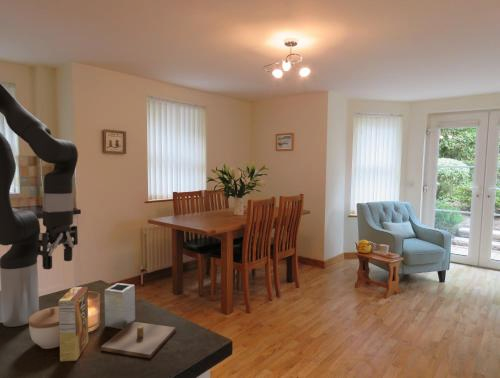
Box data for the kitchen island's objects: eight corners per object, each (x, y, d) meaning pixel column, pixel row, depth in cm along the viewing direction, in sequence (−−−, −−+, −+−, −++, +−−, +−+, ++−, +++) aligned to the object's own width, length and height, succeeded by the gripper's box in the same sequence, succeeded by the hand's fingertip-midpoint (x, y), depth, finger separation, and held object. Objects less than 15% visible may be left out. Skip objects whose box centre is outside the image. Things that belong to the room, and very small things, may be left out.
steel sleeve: (105, 326, 98) (104, 290, 97) (117, 317, 104) (117, 282, 103) (123, 329, 96) (122, 292, 95) (135, 319, 102) (134, 284, 101)
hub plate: (101, 350, 85) (100, 337, 85) (132, 324, 99) (132, 313, 99) (150, 358, 82) (149, 344, 82) (175, 330, 96) (175, 319, 95)
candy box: (72, 342, 89) (71, 286, 88) (89, 341, 90) (88, 286, 88) (59, 362, 80) (57, 300, 79) (78, 360, 81) (76, 299, 80)
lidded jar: (69, 328, 96) (68, 297, 96) (81, 343, 89) (80, 309, 88) (25, 342, 89) (23, 308, 88) (34, 359, 81) (33, 322, 81)
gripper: (62, 206, 103) (62, 257, 103) (26, 211, 88) (27, 271, 89) (85, 207, 102) (85, 259, 103) (52, 212, 88) (52, 272, 88)
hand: (58, 264), depth 96 cm, fingers open, 8 cm apart
